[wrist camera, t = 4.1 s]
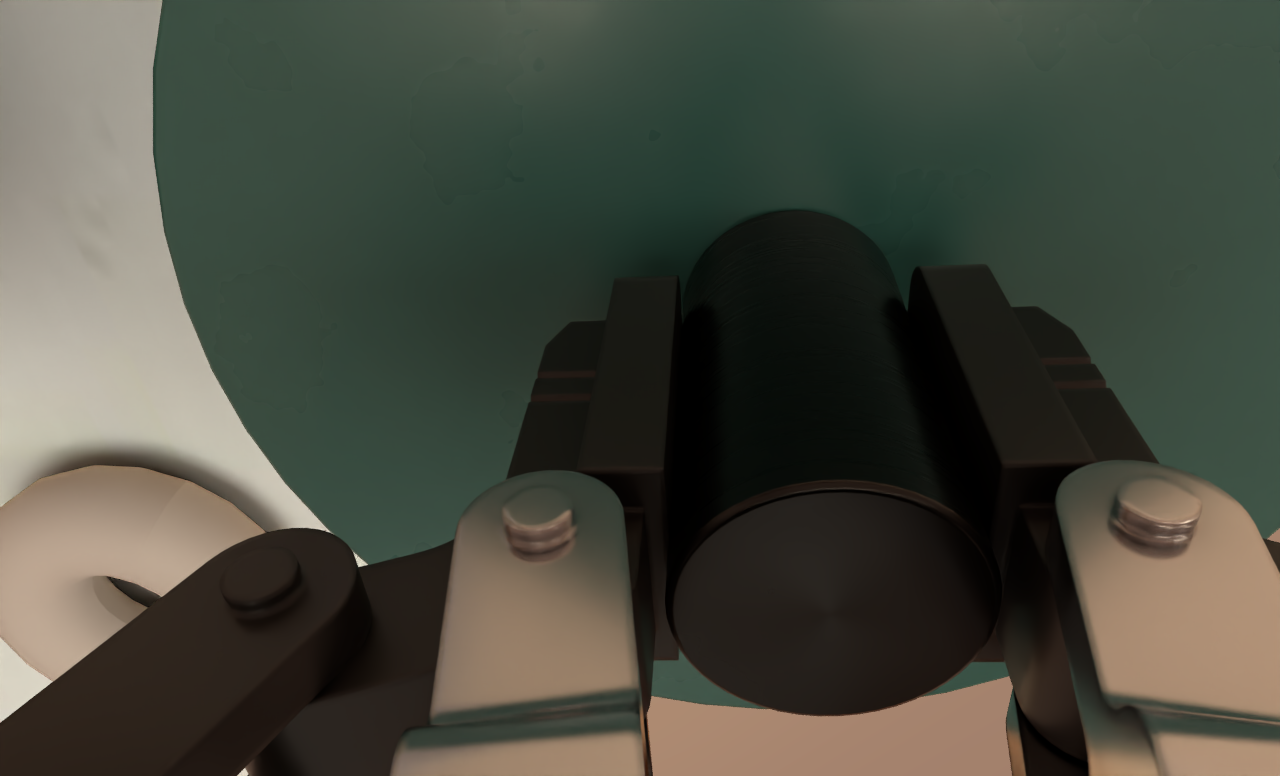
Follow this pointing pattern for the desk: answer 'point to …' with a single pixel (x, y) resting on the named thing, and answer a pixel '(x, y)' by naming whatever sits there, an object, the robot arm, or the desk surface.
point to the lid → (727, 272)
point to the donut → (100, 554)
